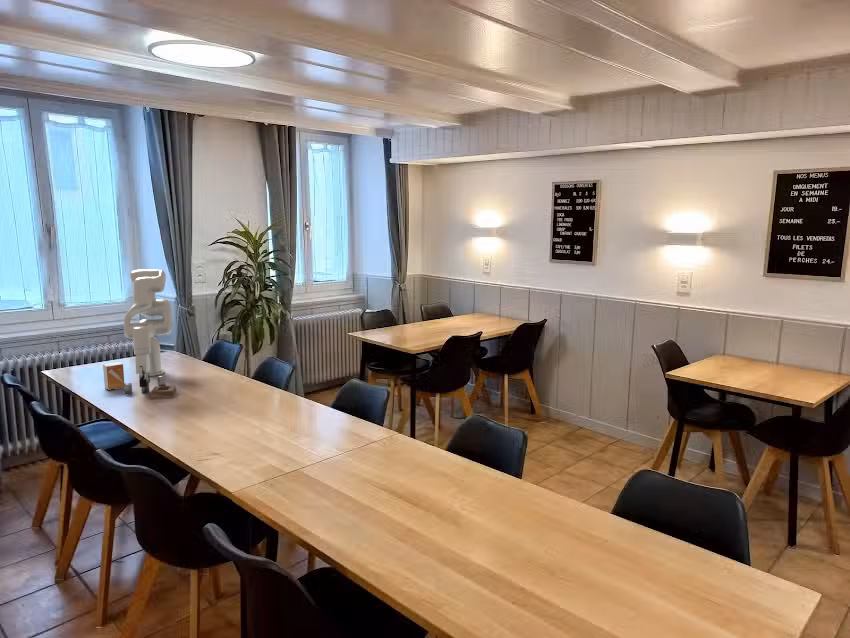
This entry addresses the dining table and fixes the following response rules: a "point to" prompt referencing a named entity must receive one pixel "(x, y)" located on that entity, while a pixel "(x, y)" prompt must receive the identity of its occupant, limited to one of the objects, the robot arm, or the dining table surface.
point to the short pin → (128, 388)
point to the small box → (113, 375)
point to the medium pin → (161, 381)
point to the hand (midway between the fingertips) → (145, 384)
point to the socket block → (163, 392)
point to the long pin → (146, 389)
